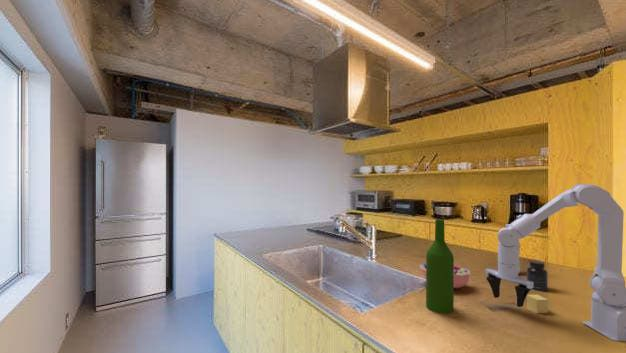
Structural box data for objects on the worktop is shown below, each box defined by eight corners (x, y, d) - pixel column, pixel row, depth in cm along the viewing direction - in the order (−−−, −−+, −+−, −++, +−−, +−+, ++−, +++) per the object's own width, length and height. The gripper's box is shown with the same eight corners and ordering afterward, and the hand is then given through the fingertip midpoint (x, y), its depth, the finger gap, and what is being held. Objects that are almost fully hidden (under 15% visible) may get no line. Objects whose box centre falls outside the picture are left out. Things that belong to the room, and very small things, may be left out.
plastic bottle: (501, 272, 135) (501, 232, 135) (509, 270, 138) (509, 231, 138) (515, 276, 130) (515, 235, 130) (523, 274, 132) (523, 233, 132)
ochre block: (547, 317, 92) (547, 299, 92) (537, 317, 92) (537, 299, 92) (537, 311, 96) (537, 294, 96) (526, 311, 96) (526, 294, 96)
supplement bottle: (526, 285, 119) (526, 258, 119) (547, 289, 115) (547, 261, 115) (526, 290, 114) (526, 262, 114) (548, 295, 109) (548, 265, 109)
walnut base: (538, 323, 88) (538, 319, 88) (500, 322, 89) (500, 318, 89) (514, 306, 100) (514, 302, 100) (480, 304, 101) (480, 301, 101)
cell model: (475, 299, 106) (475, 270, 106) (420, 292, 112) (420, 264, 112) (466, 283, 122) (466, 258, 122) (418, 277, 128) (418, 253, 128)
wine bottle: (439, 302, 103) (439, 217, 103) (459, 314, 94) (459, 221, 94) (420, 306, 99) (420, 218, 99) (440, 318, 91) (440, 222, 91)
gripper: (538, 267, 90) (538, 308, 90) (493, 255, 103) (493, 291, 103) (526, 270, 87) (526, 312, 87) (481, 258, 100) (481, 294, 100)
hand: (507, 301), depth 95 cm, fingers open, 7 cm apart
